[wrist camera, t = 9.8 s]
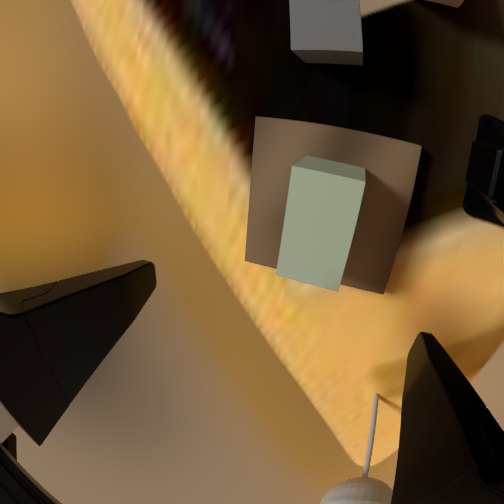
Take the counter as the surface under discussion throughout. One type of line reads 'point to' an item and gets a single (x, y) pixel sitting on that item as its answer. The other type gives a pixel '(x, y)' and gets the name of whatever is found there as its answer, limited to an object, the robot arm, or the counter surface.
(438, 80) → the counter surface
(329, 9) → the charcoal brick
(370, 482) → the lollipop
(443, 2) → the rose brick
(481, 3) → the counter surface
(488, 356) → the counter surface
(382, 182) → the walnut board
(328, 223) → the sage brick
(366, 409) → the counter surface
